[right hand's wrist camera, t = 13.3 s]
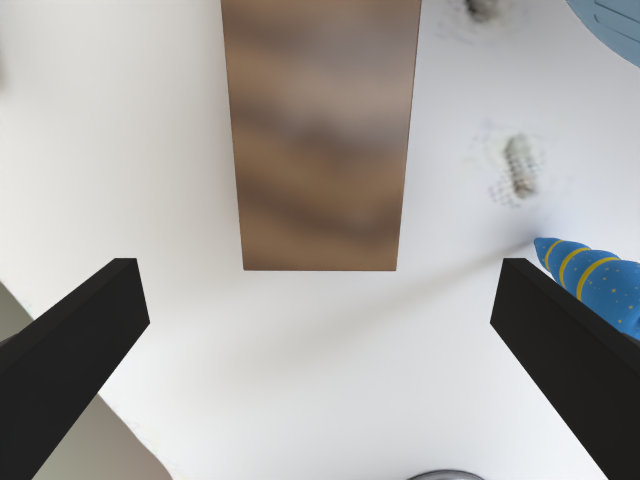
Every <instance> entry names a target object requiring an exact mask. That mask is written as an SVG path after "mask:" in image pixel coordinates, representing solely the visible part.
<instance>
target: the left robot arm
mask: <svg viewBox="0 0 640 480" xmlns="http://www.w3.org/2000/svg"><path fill="white" fill-rule="evenodd" d="M566 1H567V3H568V4H569V6H570V7H571V9H572V10H573V11H574V13H575V14H576V15H577V16H578V17H579V18H580V19H581V21H582V22H583V24H584V25H585V26H586V27H587V28H588V29H589V30H590V31H591V32H592V33H593V34H594V35H595V36H596V37H597V38H598V39H599V40H600V41H602V42H603V43H604V44H605V45H606V46H608V47H609V48H610V49H612V50H613V51H614V52H616V53H617V54H618V55H620V56H621V57H623V58H624V59H626V60H628V61H629V62H631V63H633V64H634V65H636V66H638V67H640V0H566Z"/></svg>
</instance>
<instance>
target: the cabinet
mask: <svg viewBox="0 0 640 480" xmlns="http://www.w3.org/2000/svg"><path fill="white" fill-rule="evenodd" d="M421 1H422V0H221V9H222V21H223V32H224V44H225V56H226V68H227V80H228V92H229V103H230V115H231V127H232V139H233V151H234V162H235V174H236V186H237V198H238V210H239V222H240V233H241V245H242V257H243V269H244V270H254V271H396V266H397V256H398V245H399V234H400V224H401V213H402V203H403V192H404V181H405V171H406V160H407V150H408V139H409V128H410V118H411V107H412V97H413V86H414V75H415V65H416V54H417V44H418V33H419V22H420V12H421Z"/></svg>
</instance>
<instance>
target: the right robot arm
mask: <svg viewBox="0 0 640 480" xmlns="http://www.w3.org/2000/svg"><path fill="white" fill-rule="evenodd" d="M149 324H150V320H149V315H148V310H147V306H146V301H145V296H144V292H143V287H142V282H141V278H140V273H139V268H138V263H137V259H136V258H115V259H113V260H112V261H111V262H109V263H108V264H107V265H105V266H104V267H103V268H102V269H100V270H99V271H98V272H96V273H95V274H94V275H93V276H91V277H90V278H89V279H87V280H86V281H85V282H84V283H82V284H81V285H80V286H78V287H77V288H76V289H75V290H73V291H72V292H71V293H69V294H68V295H67V296H66V297H64V298H63V299H62V300H60V301H59V302H58V303H57V304H55V305H54V306H53V307H51V308H50V309H49V310H47V311H46V312H45V313H44V314H42V315H41V316H40V317H38V318H37V319H36V320H35V321H33V322H32V323H31V324H30V325H28V326H27V327H26V328H24V329H23V330H22V331H20V332H19V333H18V334H15V335H13V336H11V337H9V338H7V339H5V340H3V341H1V342H0V480H31V479H32V478H33V477H34V476H35V474H36V473H37V472H38V470H39V469H40V468H41V466H42V465H43V464H44V462H45V461H46V460H47V458H48V457H49V456H50V455H51V453H52V452H53V451H54V449H55V448H56V447H57V445H58V444H59V443H60V441H61V440H62V439H63V437H64V436H65V435H66V433H67V432H68V431H69V429H70V428H71V427H72V425H73V424H74V423H75V422H76V420H77V419H78V418H79V416H80V415H81V414H82V412H83V411H84V410H85V408H86V407H87V406H88V404H89V403H90V402H91V400H92V399H93V398H94V396H95V395H96V394H97V393H98V391H99V390H100V389H101V387H102V386H103V385H104V383H105V382H106V381H107V379H108V378H109V377H110V375H111V374H112V373H113V371H114V370H115V369H116V367H117V366H118V365H119V364H120V362H121V361H122V360H123V358H124V357H125V356H126V354H127V353H128V352H129V350H130V349H131V348H132V346H133V345H134V344H135V342H136V341H137V340H138V338H139V337H140V336H141V334H142V333H143V332H144V331H145V329H146V328H147V327H148V325H149ZM490 324H491V325H492V327H493V328H494V329H495V331H496V332H497V333H498V334H499V336H500V337H501V338H502V340H503V341H504V342H505V344H506V345H507V346H508V348H509V349H510V350H511V352H512V353H513V354H514V356H515V357H516V358H517V360H518V361H519V362H520V364H521V365H522V366H523V367H524V369H525V370H526V371H527V373H528V374H529V375H530V377H531V378H532V379H533V381H534V382H535V383H536V385H537V386H538V387H539V389H540V390H541V391H542V393H543V394H544V395H545V396H546V398H547V399H548V400H549V402H550V403H551V404H552V406H553V407H554V408H555V410H556V411H557V412H558V414H559V415H560V416H561V418H562V419H563V420H564V422H565V423H566V424H567V426H568V427H569V428H570V429H571V431H572V432H573V433H574V435H575V436H576V437H577V439H578V440H579V441H580V443H581V444H582V445H583V447H584V448H585V449H586V451H587V452H588V453H589V455H590V456H591V457H592V458H593V460H594V461H595V462H596V464H597V465H598V466H599V468H600V469H601V470H602V472H603V473H604V474H605V476H606V477H607V478H608V480H640V340H638V339H636V338H634V337H632V336H630V335H628V334H626V333H624V332H620V331H618V330H617V329H616V328H614V327H613V326H612V325H611V324H609V323H608V322H607V321H605V320H604V319H603V318H602V317H600V316H599V315H598V314H596V313H595V312H594V311H593V310H591V309H590V308H589V307H587V306H586V305H585V304H583V303H582V302H581V301H580V300H578V299H577V298H576V297H574V296H573V295H572V294H571V293H569V292H568V291H567V290H565V289H564V288H563V287H562V286H560V285H559V284H558V283H556V282H555V281H554V280H553V279H551V278H550V277H549V276H547V275H546V274H545V273H544V272H542V271H541V270H540V269H538V268H537V267H536V266H535V265H533V264H532V263H531V262H529V261H528V260H527V259H525V258H504V259H503V263H502V268H501V273H500V278H499V282H498V287H497V292H496V296H495V301H494V306H493V310H492V315H491V320H490ZM412 480H482V479H481V478H479V477H477V476H474V475H471V474H468V473H464V472H457V471H440V472H433V473H428V474H424V475H421V476H418V477H416V478H414V479H412Z"/></svg>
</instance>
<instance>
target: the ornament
mask: <svg viewBox="0 0 640 480" xmlns="http://www.w3.org/2000/svg"><path fill="white" fill-rule="evenodd" d="M534 245H535V248H536V252H537V256H538V259H539V261H540V263H541V265H542V266H543V267H544V268H545V269H546V270H547V271H549V272H550V273H551V274H552V276H553V278H554V279H555V281H556V282H557V283H558V284H559V285H560V286H562V287H563V288H564V289H565V290H567V291H568V292H569V293H571V294H572V295H573V296H574V297H576V298H577V299H578V300H580V301H581V302H582V303H583V304H585V305H586V306H587V307H589V308H590V309H591V310H593V311H594V312H595V313H596V314H598V315H599V316H600V317H602V318H603V319H604V320H605V321H607V322H608V323H609V324H611V325H612V326H613V327H614V328H616V329H617V330H618V331H620V332H624V333H626V334H628V335H630V336H632V337H634V338H636V339H638V340H640V263H637V262H633V261H626V260H621V259H620V258H619V257H618V256H616V255H615V254H613V253H610V252H607V251H602V250H592V249H590V248H589V247H588V246H586V245H584V244H581V243H577V242H571V241H563V240H560V239H557V238H536V239H535V240H534Z"/></svg>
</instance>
